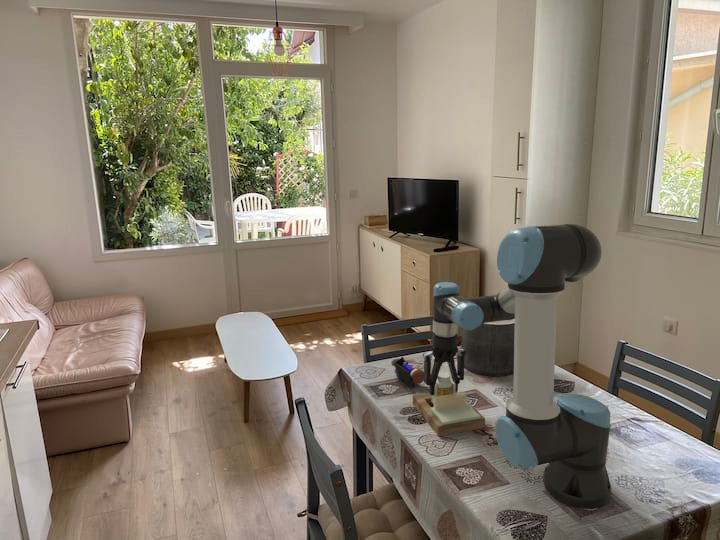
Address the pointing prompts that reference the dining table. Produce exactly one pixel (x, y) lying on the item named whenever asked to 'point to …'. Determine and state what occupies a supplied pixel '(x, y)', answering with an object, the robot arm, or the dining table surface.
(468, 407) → the cover
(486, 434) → the dining table surface
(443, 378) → the supplement bottle
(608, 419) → the robot arm
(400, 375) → the character figurine
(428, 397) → the board
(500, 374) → the planter
